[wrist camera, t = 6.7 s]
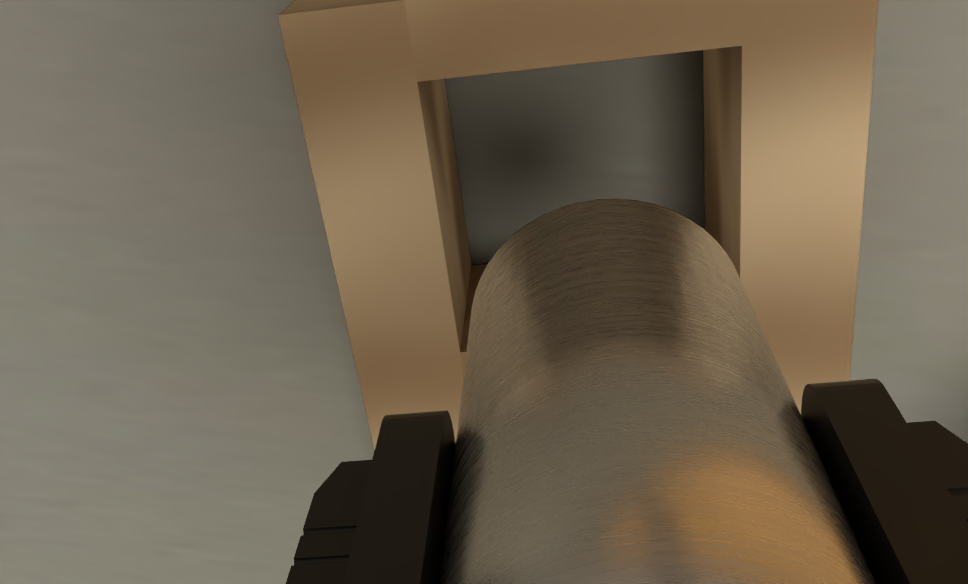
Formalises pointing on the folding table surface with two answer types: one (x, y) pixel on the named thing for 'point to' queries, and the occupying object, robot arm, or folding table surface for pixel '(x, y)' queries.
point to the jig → (566, 41)
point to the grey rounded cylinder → (631, 419)
